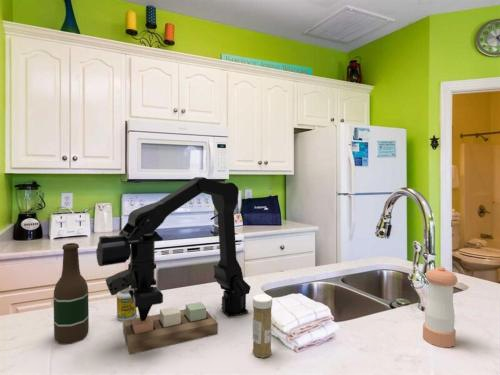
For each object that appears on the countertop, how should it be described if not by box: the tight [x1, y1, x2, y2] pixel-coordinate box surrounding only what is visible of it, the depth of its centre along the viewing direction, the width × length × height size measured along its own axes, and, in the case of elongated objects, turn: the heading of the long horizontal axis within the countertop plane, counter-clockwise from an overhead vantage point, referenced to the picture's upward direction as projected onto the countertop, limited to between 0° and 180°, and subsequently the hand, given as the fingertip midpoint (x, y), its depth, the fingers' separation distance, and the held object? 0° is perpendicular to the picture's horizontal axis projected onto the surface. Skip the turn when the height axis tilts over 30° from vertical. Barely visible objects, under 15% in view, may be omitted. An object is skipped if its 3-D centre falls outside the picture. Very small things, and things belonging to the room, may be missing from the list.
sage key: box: [185, 301, 207, 322], centre depth 89 cm, size 4×4×3 cm
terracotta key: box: [132, 314, 153, 334], centre depth 83 cm, size 4×4×3 cm
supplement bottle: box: [116, 285, 138, 322], centre depth 95 cm, size 5×5×10 cm
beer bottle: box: [53, 242, 90, 345], centre depth 83 cm, size 8×8×24 cm
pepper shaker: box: [422, 266, 458, 348], centre depth 84 cm, size 7×7×19 cm
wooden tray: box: [122, 308, 219, 356], centre depth 86 cm, size 22×12×3 cm, turn 118°
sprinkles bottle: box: [252, 294, 273, 358], centre depth 77 cm, size 5×5×13 cm
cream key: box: [159, 305, 181, 327], centre depth 86 cm, size 4×4×3 cm
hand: (142, 320), depth 83 cm, fingers closed, pressing on terracotta key
